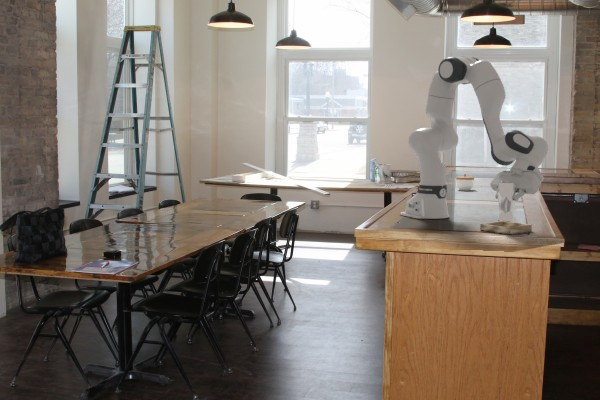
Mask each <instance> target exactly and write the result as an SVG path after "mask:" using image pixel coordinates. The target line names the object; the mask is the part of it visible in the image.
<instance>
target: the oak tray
mask: <svg viewBox="0 0 600 400" xmlns="http://www.w3.org/2000/svg"><path fill="white" fill-rule="evenodd" d="M532 226H533V224H530V223H529V224H528V223H522V222H516V221H514V222H501V221H498V220H497V221H492V222H486V223H480V226H479V227H480V228H479V230H484V231H483V232H486V231H490V232H489V233H493V232H495V233H494V234H499V233H502V234H501V235H506V234H512V235H517V234H518V233H519V234H524V233H525V234H526V233H530V232H532V231H533V227H532Z"/></svg>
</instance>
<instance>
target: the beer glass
mask: <svg viewBox="0 0 600 400" xmlns="http://www.w3.org/2000/svg"><path fill="white" fill-rule="evenodd" d="M511 182H512V181H500V182H499V185H498V199H497V201H498V211H499V212H498V216H497V222H498V221H501V222H515V218H514V210H515V206H516V205H515V204H516V201H513V199H512V197H513V196H514V195H516V194H517V188H516V187H517V185H516V183H517V182H513V183H511Z"/></svg>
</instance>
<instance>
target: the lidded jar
mask: <svg viewBox="0 0 600 400" xmlns="http://www.w3.org/2000/svg"><path fill="white" fill-rule="evenodd" d="M455 184H456V187H457V189H459V191H470V190H471V189H473V187H474V184H475V177H474V176H469V175H468V176H467V174H465V173H464V174H463V176H462V175H461V176H459V175H458V176H456V177H455Z"/></svg>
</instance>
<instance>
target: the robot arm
mask: <svg viewBox="0 0 600 400" xmlns="http://www.w3.org/2000/svg"><path fill="white" fill-rule="evenodd" d="M438 65H439V66H438V69H437V71H435V72H434V74H433V77H432V79H431V82H430V85H429V89H428V93H427V94H428V95H427V101H426V105H425V106H426V107H425V114H426V116H427V117H429V119H430V120H429V121H430V127H421V128H417V129H415V130H413V131H412V132H411V133H410V134H409V137H408V146H409V148H410V149H411V150H412V152H413V153H414V154H415V155H416V159H417V160H418V164H419V174H420V175H419V176H420V178H419V179H420V180H419V182H420V183H419V185H416V186H415V189H416V190H417V191H416V194H414V195H413V196H412V197H411V198H409V199H408V200H407V201H406V203H405V209H404V211H401V212H400V213H399V216H405V217H407V218H413V219H419V220H422V219H424V220H428V219H432V220H433V219H439V220H440V219H447V218H450V214H449V211H448V210H449V209H448V204H447V194H448V191H447V190H448V187H447V186H448V185H447V167H446V165H445V164H444V163H443V162H442V160H441V159H440V155H439V154H440V153H448V152H451V151H453V150H455V149H456V148H457V147H458V145H459V136H458V133H457V132H456V130H455V129H454V126H453V121H452V120H453V118H452V116H453V108H454V101H455V95H456V90H457V87H458V86H459V85H468V84H471V87H472V88H473V91H474V93H475V95H476V98H477V100H478V104H479V108H480V111H481V116H482V120H483V124H484V128H485V130H486V134H487V136H488V139H489V142H490V143H489V144H490V153H491V159H492V160H493V161H494V162H495V163H496V164H498V165H500V166H503V167H504V166H510V165H512V164H513V165H512V166H511V168H510V170H502V171H500V172H498V173H497V174H496V175H495V176H494V177H493V179H492V180H491V181H490V188H491V189H492V190H493V191H494V192H496V194H495V196H494V197H495V199H496V200H498V185H499V182H500V181H512V182H511V183H513V182H517V183H516V185H517V187H516V188H517V194H516V195H514V196H513V197H512V199H513V201H515V202H517V201H519V199H520V198H522V197H523V196H524V195H525V194H527V195H534V194H537V193H538V192H539V190H540V188H541V186H542V182H544V180H545V177H544V175H543V174H542V171H541V170H540V169H539V167H540V166H541V165H542V164H543V162H544V160H545V158H546V156H547V154H548V151H549V144H548V143H547V141H546V139H544V138H542V137H541V136H538V135H534V136H533V135H528V134H526V133H524V132H523V131H521V130H518V129H513V130H512V129H511V130H509V131H508V132H507V133H505V132H504V130H503V129H504V128H503V126H502V123H501V118H500V117H501V111H502V108H503V106H504V105H503V104H504V103H505V99H506V90H505V86H504V84H503V82H502V80H501V78H500V75H499V73H498V72H497V70H496V69H495V67H494V66H493V64H492V63H491V62H490V60H489V61H488V60H487V59H485V60H484V59H482V60H480V59H478V58H477V57H472V56H471V57H470V56H463V55H462V56H448V57H446V58H444V59H442V60H441V61H440V63H439V64H438Z"/></svg>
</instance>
